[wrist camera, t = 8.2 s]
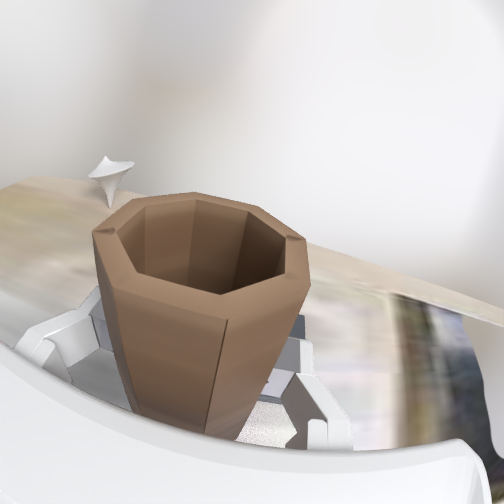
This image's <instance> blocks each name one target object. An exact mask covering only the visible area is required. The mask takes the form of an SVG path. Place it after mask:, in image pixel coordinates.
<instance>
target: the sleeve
mask: <svg viewBox="0 0 504 504" xmlns="http://www.w3.org/2000/svg"><path fill="white" fill-rule="evenodd" d="M92 237H93V246H94V255H95V263H96V270H97V277H98V283H99V289H100V294H101V300H102V305H103V310H104V315H105V319H106V324H107V328H108V333H109V337H110V341H111V345H112V348H113V352H114V356H115V359H116V363H117V366H118V370H119V373H120V376H121V379H122V383H123V386H124V389H125V392H126V395H127V398H128V400H129V403H130V406H131V409H132V411H133V413H136V414H139V415H141V416H144V417H147V418H150V419H153V420H156V421H159V422H162V423H165V424H168V425H171V426H175V427H178V428H182V429H185V430H189V431H193V432H196V433H200V434H205V435H209V436H213V437H218V438H222V439H227V440H232V441H234V440H235V439H237V437H238V435H239V434H240V432H241V430H242V428H243V426H244V424H245V423H246V421H247V419H248V417H249V415H250V413H251V411H252V410H253V408H254V406H255V404H256V402H257V400H258V398H259V396H260V394H261V392H262V390H263V388H264V386H265V384H266V382H267V380H268V378H269V376H270V374H271V372H272V370H273V368H274V366H275V364H276V362H277V360H278V358H279V356H280V353H281V351H282V349H283V347H284V345H285V343H286V341H287V338H288V336H289V334H290V332H291V330H292V327H293V325H294V323H295V321H296V318H297V316H298V314H299V312H300V309H301V307H302V305H303V302H304V300H305V298H306V295H307V293H308V291H309V288H310V286H311V283H310V273H309V263H308V254H307V245H306V239H305V238H304V237H302V236H301V235H299V234H298V233H297V232H295V231H294V230H292V229H291V228H289V227H288V226H286V225H285V224H283V223H282V222H280V221H279V220H278V219H276V218H275V217H273V216H272V215H270V214H269V213H267V212H266V211H264V210H263V209H261V208H260V207H258V206H255V205H251V204H246V203H242V202H238V201H233V200H229V199H224V198H220V197H215V196H210V195H206V194H202V193H197V192H190V193H179V194H170V195H161V196H154V197H144V198H137V199H132V200H131V201H129V202H128V203H127V204H125V205H124V206H123V207H121V208H120V209H119V210H117V211H116V212H115V213H114V214H112V215H111V216H110V217H109V218H107V219H106V220H105V221H104V222H102V223H101V224H100V225H99V226H98V227H96V228H95V229H94V230H93V231H92Z"/></svg>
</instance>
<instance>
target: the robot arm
mask: <svg viewBox="0 0 504 504" xmlns="http://www.w3.org/2000/svg"><path fill="white" fill-rule="evenodd" d="M100 347H101V348H104V349H106V350H109V351H112V352H113V348H112V345H111V341H110V337H109V333H108V328H107V324H106V319H105V315H104V310H103V305H102V300H101V294H100V289H99V286H97V287H96V288H95V289H94V290H93V291H92V292H91V294H90V295H89V296H88V297H87V299H86V300H85V301H84V302H83V304H82V305H81V306H80V307H79V309H78V310H75V309H74V310H71V311H69V312H66V313H64V314H62V315H59V316H57V317H54V318H52V319H50V320H47V321H45V322H42V323H40V324H38V325H35V326H33V327H30V328H29V329H28V330H27V331H26V333H25V334H24V335H23V337H22V338H21V339H20V340H19V342H18V343H17V344H16V346H15V347H14V348H13V349H12V348H11V347H9V346H8V345H6V344H5V343H4V342H2V341H1V340H0V504H492V500H491V494H490V488H489V483H488V478H487V474H486V471H485V467H484V465H483V462H482V460H481V459H480V457H479V456H478V455H477V454H476V453H475V452H474V451H473V450H472V449H471V448H470V447H469V446H468V445H467V444H466V443H465V442H464V441H463V440H461V439H451V440H446V441H442V442H436V443H431V444H425V445H418V446H411V447H403V448H394V449H382V450H366V451H353V438H352V425H351V420H350V419H349V417H348V416H347V415H346V413H345V412H344V411H343V409H342V408H341V407H340V405H339V404H338V403H337V401H336V400H335V399H334V397H333V396H332V395H331V393H330V392H329V390H328V389H327V388H326V386H325V385H324V384H323V382H322V381H321V380H320V378H319V377H318V376H314V359H313V343H312V341H310V340H304V339H298V338H293V337H288V338H287V341H286V343H285V345H284V347H283V349H282V351H281V353H280V356H279V358H278V360H277V362H276V364H275V366H274V368H273V370H272V372H271V374H270V376H269V378H268V380H267V382H266V384H265V386H264V388H263V390H262V392H261V394H264V395H269V396H274V397H279V398H280V400H281V402H282V404H283V406H284V408H285V410H286V412H287V414H288V415H289V417H290V419H291V421H292V423H293V425H294V427H295V429H296V431H297V434H296V435H295V436H294V437H293V438H291V439H290V440H289V441H288V442H287V443H286V445H285V448H279V447H270V446H263V445H256V444H249V443H243V442H238V441H232V440H227V439H222V438H218V437H213V436H209V435H205V434H200V433H196V432H193V431H189V430H185V429H182V428H178V427H175V426H171V425H168V424H165V423H162V422H159V421H156V420H153V419H150V418H147V417H144V416H141V415H139V414H136V413H133V412H131V411H128V410H125V409H123V408H120V407H118V406H116V405H113V404H111V403H108V402H106V401H104V400H102V399H99V398H97V397H95V396H93V395H91V394H89V393H87V392H85V391H83V390H81V389H79V388H77V387H75V386H73V385H71V383H72V382H73V381H72V377H71V376H70V374H69V372H68V370H67V369H68V368H69V367H71V366H72V365H74V364H75V363H77V362H79V361H80V360H82V359H83V358H85V357H87V356H88V355H90V354H91V353H93V352H95V351H96V350H98V349H99V348H100Z"/></svg>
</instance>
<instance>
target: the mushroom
mask: <svg viewBox="0 0 504 504" xmlns="http://www.w3.org/2000/svg"><path fill="white" fill-rule="evenodd" d="M134 164H135V163H134V162H132V161H124V162H113V161H111V160H109V159H108V158H107V157H106V156H105V157H104V159H103V160H102V161H101V163H100V164H99V165H98V166H97V167H96V168H95V169H94V170H93V171H92V172H90V173H89V174H88V177H90V178H92V179H94V180H95V181H97V182H98V183H99V184H100V185H101V186H102V187H103V189H104V191H105V193H106V196H107V200H108V205H109V208H111V206H112V203H113V198H114V195H115V191H116V189H117V186H118V184H119V182H120V180H121V179H122V177H123V176H124V175H125V173H126V172H127V171H128V170H129V169H131V167H132V166H134Z"/></svg>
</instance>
